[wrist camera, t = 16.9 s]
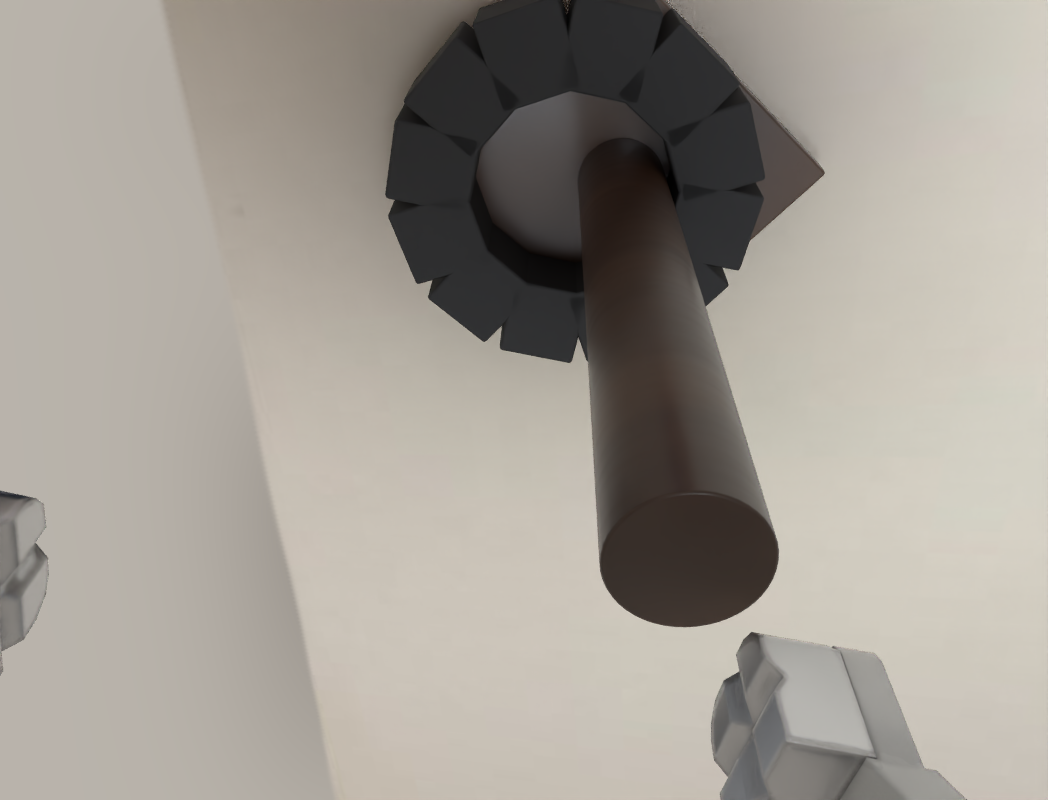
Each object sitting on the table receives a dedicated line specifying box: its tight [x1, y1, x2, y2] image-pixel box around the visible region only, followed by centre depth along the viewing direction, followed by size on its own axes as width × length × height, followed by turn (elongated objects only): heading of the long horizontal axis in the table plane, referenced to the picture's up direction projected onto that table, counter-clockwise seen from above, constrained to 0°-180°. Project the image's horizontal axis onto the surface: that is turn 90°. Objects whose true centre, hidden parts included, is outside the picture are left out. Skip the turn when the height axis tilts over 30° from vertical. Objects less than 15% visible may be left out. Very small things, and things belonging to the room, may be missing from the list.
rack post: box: [476, 0, 825, 627], centre depth 20 cm, size 8×8×17 cm
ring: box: [385, 0, 765, 363], centre depth 25 cm, size 10×10×2 cm
